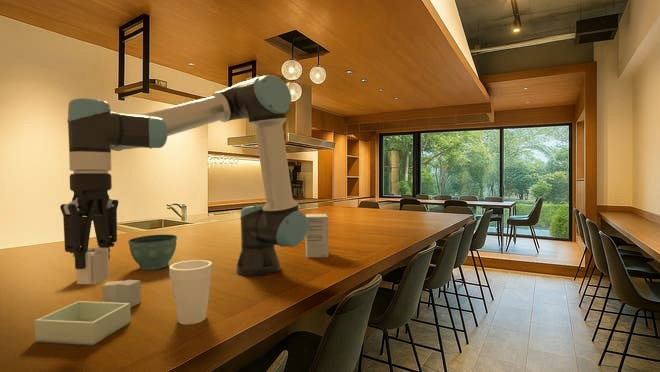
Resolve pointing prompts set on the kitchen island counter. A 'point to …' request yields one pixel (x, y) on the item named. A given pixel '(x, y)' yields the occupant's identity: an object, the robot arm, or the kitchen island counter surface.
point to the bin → (82, 322)
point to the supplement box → (317, 236)
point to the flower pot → (153, 250)
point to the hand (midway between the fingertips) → (93, 279)
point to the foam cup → (191, 289)
